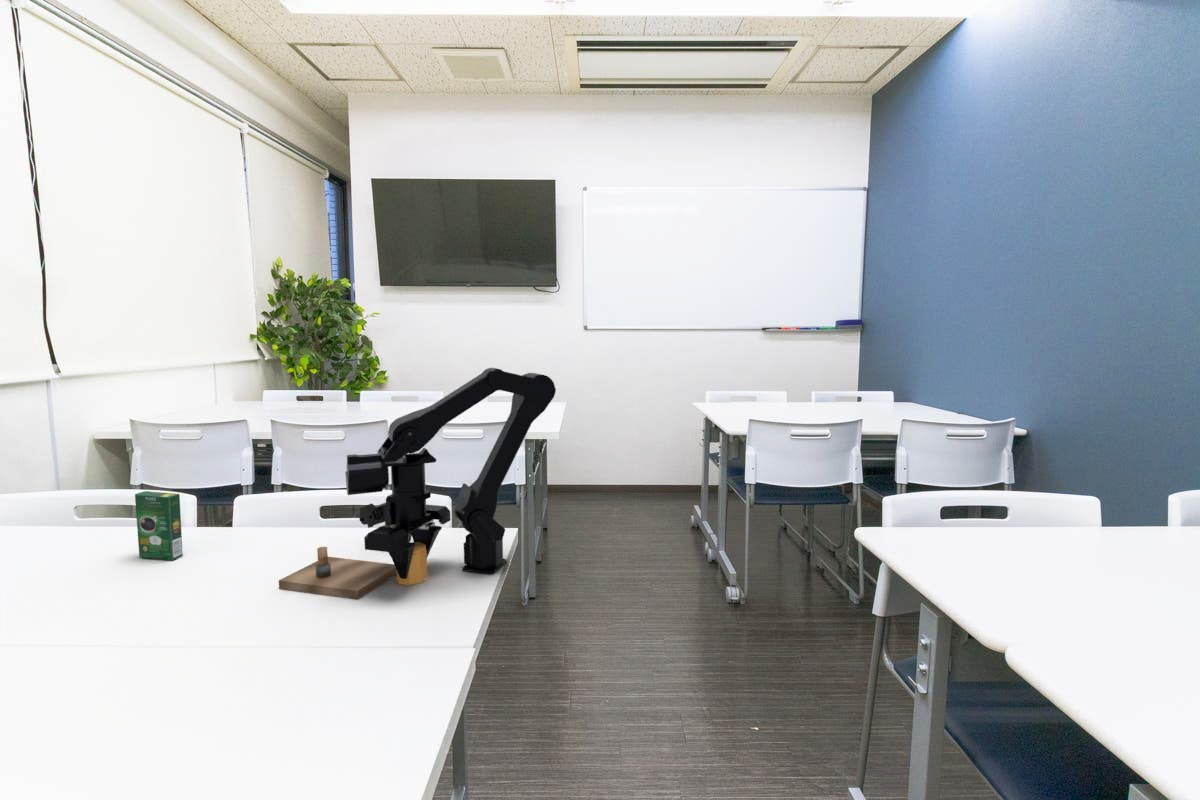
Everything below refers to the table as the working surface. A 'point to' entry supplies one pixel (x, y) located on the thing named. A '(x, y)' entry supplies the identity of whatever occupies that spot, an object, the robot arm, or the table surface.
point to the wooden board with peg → (338, 576)
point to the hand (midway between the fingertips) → (411, 572)
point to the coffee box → (159, 525)
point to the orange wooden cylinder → (416, 566)
